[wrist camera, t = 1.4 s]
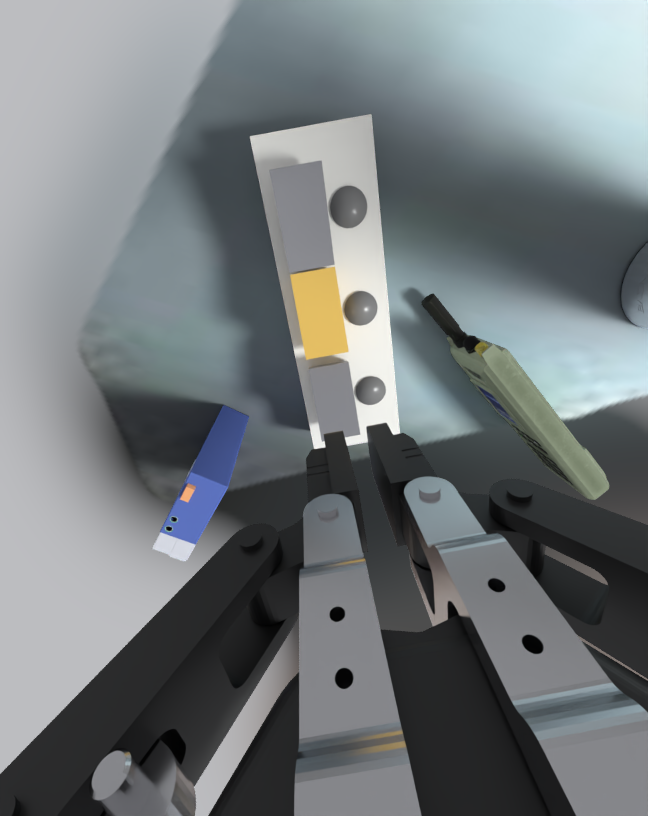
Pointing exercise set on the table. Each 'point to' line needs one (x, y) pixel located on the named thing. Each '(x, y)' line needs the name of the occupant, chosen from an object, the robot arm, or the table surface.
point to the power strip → (341, 260)
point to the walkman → (203, 486)
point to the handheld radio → (521, 405)
